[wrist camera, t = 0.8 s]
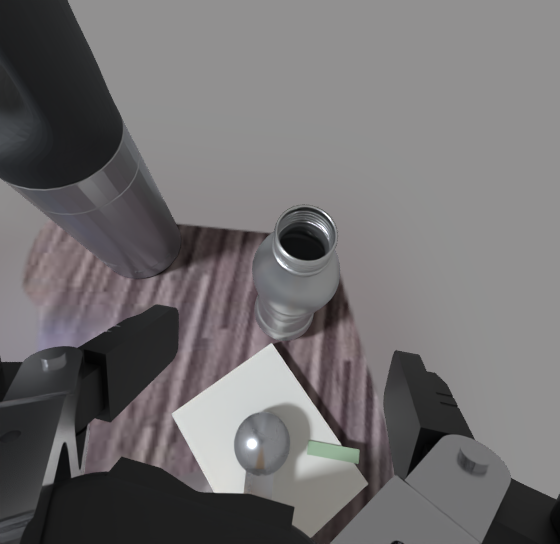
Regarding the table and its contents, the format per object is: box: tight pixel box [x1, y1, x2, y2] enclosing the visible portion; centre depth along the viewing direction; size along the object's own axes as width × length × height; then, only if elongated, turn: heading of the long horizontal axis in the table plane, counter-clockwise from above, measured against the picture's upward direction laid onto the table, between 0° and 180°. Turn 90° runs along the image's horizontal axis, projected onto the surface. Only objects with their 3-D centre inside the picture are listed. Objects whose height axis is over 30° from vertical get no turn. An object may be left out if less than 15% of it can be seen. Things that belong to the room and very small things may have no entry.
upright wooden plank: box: [234, 412, 290, 500], centre depth 22 cm, size 14×5×11 cm, turn 176°
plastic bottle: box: [252, 205, 340, 341], centre depth 26 cm, size 6×7×20 cm
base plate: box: [172, 343, 368, 538], centre depth 30 cm, size 16×14×2 cm
